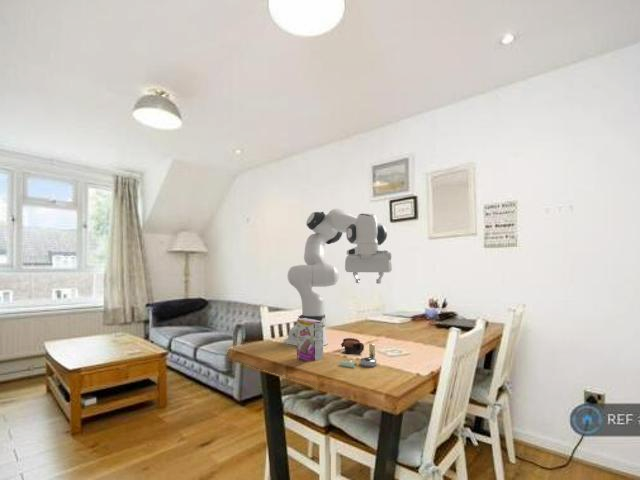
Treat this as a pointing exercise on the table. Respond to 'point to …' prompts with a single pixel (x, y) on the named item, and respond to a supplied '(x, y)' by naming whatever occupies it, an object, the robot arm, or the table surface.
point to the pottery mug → (352, 346)
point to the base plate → (348, 364)
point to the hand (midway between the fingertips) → (368, 283)
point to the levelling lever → (369, 358)
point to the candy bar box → (309, 339)
